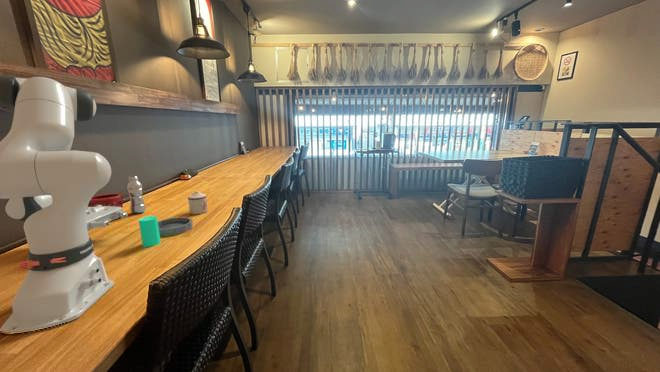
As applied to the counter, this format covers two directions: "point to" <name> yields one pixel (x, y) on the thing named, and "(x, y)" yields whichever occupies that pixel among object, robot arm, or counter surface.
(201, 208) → the teacup with lid
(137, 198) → the plastic bottle
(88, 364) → the counter surface
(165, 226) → the dish
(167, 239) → the counter surface
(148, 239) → the candle
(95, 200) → the plant pot
